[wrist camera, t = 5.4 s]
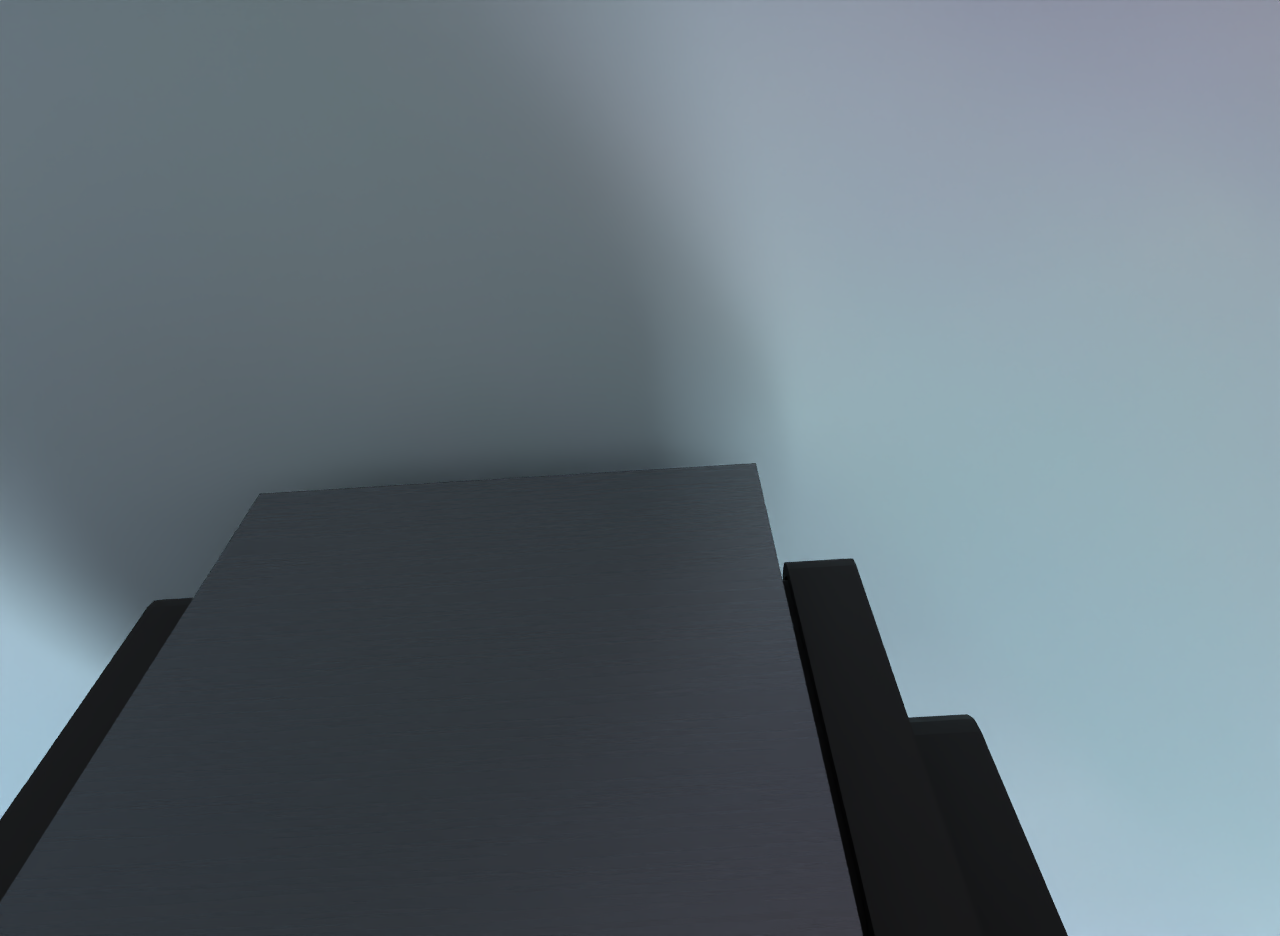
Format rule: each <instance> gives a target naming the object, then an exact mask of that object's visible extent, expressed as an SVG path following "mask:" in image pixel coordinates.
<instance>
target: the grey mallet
mask: <svg viewBox="0 0 1280 936" xmlns="http://www.w3.org/2000/svg"><path fill="white" fill-rule="evenodd" d="M0 936H863V933H862V929H861V925H860V920H859V916H858V911H857V907H856V903H855V898H854V894H853V889H852V885H851V881H850V876H849V872H848V867H847V863H846V859H845V854H844V850H843V845H842V841H841V837H840V832H839V828H838V823H837V819H836V814H835V810H834V806H833V801H832V797H831V792H830V788H829V784H828V779H827V775H826V770H825V766H824V762H823V757H822V753H821V748H820V744H819V740H818V735H817V731H816V726H815V722H814V717H813V713H812V709H811V704H810V700H809V695H808V691H807V687H806V682H805V678H804V673H803V669H802V665H801V660H800V656H799V651H798V647H797V643H796V638H795V634H794V629H793V625H792V620H791V616H790V612H789V607H788V603H787V598H786V594H785V590H784V585H783V581H782V576H781V572H780V568H779V563H778V559H777V554H776V550H775V546H774V541H773V537H772V532H771V528H770V524H769V519H768V515H767V510H766V506H765V501H764V497H763V493H762V488H761V484H760V479H759V475H758V471H757V466H756V463H751V464H735V465H719V466H703V467H686V468H670V469H654V470H638V471H622V472H605V473H589V474H573V475H557V476H540V477H524V478H508V479H492V480H475V481H459V482H443V483H427V484H410V485H394V486H378V487H362V488H345V489H329V490H313V491H297V492H281V493H264V494H259V496H258V497H257V499H256V501H255V502H254V504H253V505H252V507H251V508H250V510H249V512H248V513H247V515H246V516H245V518H244V519H243V521H242V523H241V524H240V526H239V527H238V529H237V530H236V532H235V534H234V535H233V537H232V538H231V540H230V541H229V543H228V545H227V546H226V548H225V549H224V551H223V552H222V554H221V556H220V557H219V559H218V560H217V562H216V563H215V565H214V567H213V568H212V570H211V571H210V573H209V574H208V576H207V578H206V579H205V581H204V582H203V584H202V586H201V587H200V589H199V590H198V592H197V593H196V595H195V597H194V598H193V600H192V601H191V603H190V604H189V606H188V608H187V609H186V611H185V612H184V614H183V615H182V617H181V619H180V620H179V622H178V623H177V625H176V626H175V628H174V630H173V631H172V633H171V634H170V636H169V637H168V639H167V641H166V642H165V644H164V645H163V647H162V648H161V650H160V652H159V653H158V655H157V656H156V658H155V659H154V661H153V663H152V664H151V666H150V667H149V669H148V670H147V672H146V674H145V675H144V677H143V678H142V680H141V681H140V683H139V685H138V686H137V688H136V689H135V691H134V692H133V694H132V696H131V697H130V699H129V700H128V702H127V703H126V705H125V707H124V708H123V710H122V711H121V713H120V714H119V716H118V718H117V719H116V721H115V722H114V724H113V725H112V727H111V729H110V730H109V732H108V733H107V735H106V736H105V738H104V740H103V741H102V743H101V744H100V746H99V747H98V749H97V751H96V752H95V754H94V755H93V757H92V759H91V760H90V762H89V763H88V765H87V766H86V768H85V770H84V771H83V773H82V774H81V776H80V777H79V779H78V781H77V782H76V784H75V785H74V787H73V788H72V790H71V792H70V793H69V795H68V796H67V798H66V799H65V801H64V803H63V804H62V806H61V807H60V809H59V810H58V812H57V814H56V815H55V817H54V818H53V820H52V821H51V823H50V825H49V826H48V828H47V829H46V831H45V832H44V834H43V836H42V837H41V839H40V840H39V842H38V843H37V845H36V847H35V848H34V850H33V851H32V853H31V854H30V856H29V858H28V859H27V861H26V862H25V864H24V865H23V867H22V869H21V870H20V872H19V873H18V875H17V876H16V878H15V880H14V881H13V883H12V884H11V886H10V887H9V889H8V891H7V892H6V894H5V895H4V897H3V898H2V900H1V902H0Z"/></svg>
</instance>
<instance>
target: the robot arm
mask: <svg viewBox="0 0 1280 936" xmlns="http://www.w3.org/2000/svg"><path fill="white" fill-rule="evenodd" d="M782 581H783V585H784V590H785V594H786V598H787V603H788V607H789V612H790V616H791V620H792V625H793V629H794V634H795V638H796V643H797V647H798V651H799V656H800V660H801V665H802V669H803V673H804V678H805V682H806V687H807V691H808V695H809V700H810V704H811V709H812V713H813V717H814V722H815V726H816V731H817V735H818V740H819V744H820V748H821V753H822V757H823V762H824V766H825V770H826V775H827V779H828V784H829V788H830V792H831V797H832V801H833V806H834V810H835V814H836V819H837V823H838V828H839V832H840V837H841V841H842V845H843V850H844V854H845V859H846V863H847V867H848V872H849V876H850V881H851V885H852V889H853V894H854V898H855V903H856V907H857V911H858V916H859V920H860V925H861V929H862V933H863V936H1068V935H1067V933H1066V930H1065V928H1064V926H1063V923H1062V921H1061V919H1060V916H1059V914H1058V912H1057V909H1056V907H1055V905H1054V902H1053V900H1052V897H1051V895H1050V893H1049V890H1048V888H1047V886H1046V883H1045V881H1044V879H1043V876H1042V874H1041V872H1040V869H1039V867H1038V865H1037V862H1036V860H1035V857H1034V855H1033V853H1032V850H1031V848H1030V846H1029V843H1028V841H1027V839H1026V836H1025V834H1024V832H1023V829H1022V827H1021V824H1020V822H1019V820H1018V817H1017V815H1016V813H1015V810H1014V808H1013V806H1012V803H1011V801H1010V799H1009V796H1008V794H1007V792H1006V789H1005V787H1004V784H1003V782H1002V780H1001V777H1000V775H999V773H998V770H997V768H996V766H995V763H994V761H993V759H992V756H991V754H990V751H989V749H988V747H987V744H986V742H985V740H984V737H983V735H982V733H981V731H980V729H979V727H978V725H977V723H976V722H975V720H974V718H972V717H971V716H969V715H968V714H965V715H948V716H930V717H912V718H908V716H907V713H906V710H905V707H904V704H903V701H902V698H901V695H900V692H899V689H898V686H897V684H896V681H895V678H894V675H893V672H892V669H891V666H890V663H889V660H888V657H887V654H886V651H885V648H884V646H883V643H882V640H881V637H880V634H879V631H878V628H877V625H876V622H875V619H874V616H873V613H872V610H871V607H870V605H869V602H868V599H867V596H866V593H865V590H864V587H863V584H862V581H861V578H860V575H859V572H858V569H857V567H856V564H855V562H854V560H853V559H834V560H817V561H800V562H785V563H784V567H783V580H782ZM192 600H193V598H182V599H166V600H157V601H154V602H152V603H151V604H150V605H149V606H148V607H147V609H146V610H145V612H144V613H143V615H142V616H141V618H140V619H139V620H138V622H137V623H136V625H135V626H134V628H133V629H132V631H131V632H130V633H129V635H128V636H127V638H126V639H125V641H124V642H123V644H122V645H121V646H120V648H119V649H118V651H117V652H116V654H115V655H114V657H113V658H112V659H111V661H110V662H109V664H108V665H107V667H106V668H105V670H104V671H103V673H102V674H101V675H100V677H99V678H98V680H97V681H96V683H95V684H94V686H93V687H92V688H91V690H90V691H89V693H88V694H87V696H86V697H85V699H84V700H83V701H82V703H81V704H80V706H79V707H78V709H77V710H76V712H75V713H74V714H73V716H72V717H71V719H70V720H69V722H68V723H67V725H66V726H65V727H64V729H63V730H62V732H61V733H60V735H59V736H58V738H57V739H56V741H55V742H54V743H53V745H52V746H51V748H50V749H49V751H48V752H47V754H46V755H45V756H44V758H43V759H42V761H41V762H40V764H39V765H38V767H37V768H36V769H35V771H34V772H33V774H32V775H31V777H30V778H29V780H28V781H27V782H26V784H25V785H24V786H23V788H22V789H21V791H20V792H19V793H18V795H17V796H16V798H15V799H14V801H13V802H12V804H11V805H10V806H9V808H8V809H7V811H6V812H5V814H4V815H3V817H2V818H1V819H0V902H1V900H2V898H3V897H4V895H5V894H6V892H7V891H8V889H9V887H10V886H11V884H12V883H13V881H14V880H15V878H16V876H17V875H18V873H19V872H20V870H21V869H22V867H23V865H24V864H25V862H26V861H27V859H28V858H29V856H30V854H31V853H32V851H33V850H34V848H35V847H36V845H37V843H38V842H39V840H40V839H41V837H42V836H43V834H44V832H45V831H46V829H47V828H48V826H49V825H50V823H51V821H52V820H53V818H54V817H55V815H56V814H57V812H58V810H59V809H60V807H61V806H62V804H63V803H64V801H65V799H66V798H67V796H68V795H69V793H70V792H71V790H72V788H73V787H74V785H75V784H76V782H77V781H78V779H79V777H80V776H81V774H82V773H83V771H84V770H85V768H86V766H87V765H88V763H89V762H90V760H91V759H92V757H93V755H94V754H95V752H96V751H97V749H98V747H99V746H100V744H101V743H102V741H103V740H104V738H105V736H106V735H107V733H108V732H109V730H110V729H111V727H112V725H113V724H114V722H115V721H116V719H117V718H118V716H119V714H120V713H121V711H122V710H123V708H124V707H125V705H126V703H127V702H128V700H129V699H130V697H131V696H132V694H133V692H134V691H135V689H136V688H137V686H138V685H139V683H140V681H141V680H142V678H143V677H144V675H145V674H146V672H147V670H148V669H149V667H150V666H151V664H152V663H153V661H154V659H155V658H156V656H157V655H158V653H159V652H160V650H161V648H162V647H163V645H164V644H165V642H166V641H167V639H168V637H169V636H170V634H171V633H172V631H173V630H174V628H175V626H176V625H177V623H178V622H179V620H180V619H181V617H182V615H183V614H184V612H185V611H186V609H187V608H188V606H189V604H190V603H191V601H192Z"/></svg>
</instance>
